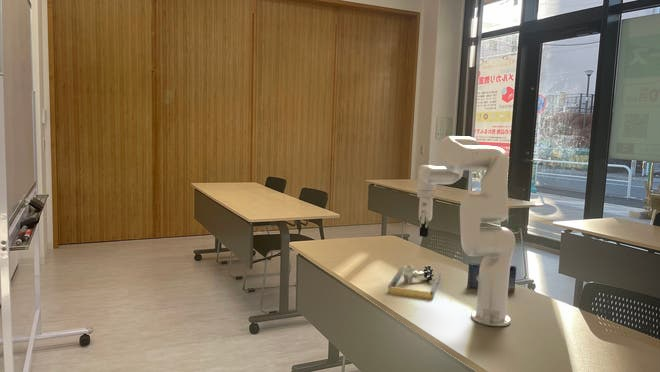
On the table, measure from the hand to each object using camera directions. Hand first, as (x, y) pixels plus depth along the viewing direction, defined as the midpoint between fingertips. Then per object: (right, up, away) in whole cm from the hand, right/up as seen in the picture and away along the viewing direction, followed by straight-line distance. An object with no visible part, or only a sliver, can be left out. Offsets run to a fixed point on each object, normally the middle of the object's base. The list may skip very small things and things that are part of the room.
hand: (423, 235), depth 215 cm
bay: (-6, -19, -15) cm, 25 cm away
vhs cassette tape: (+24, -20, -15) cm, 35 cm away
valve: (-5, -19, -9) cm, 21 cm away
